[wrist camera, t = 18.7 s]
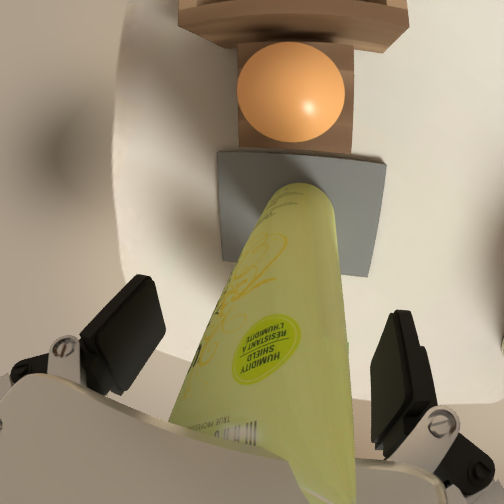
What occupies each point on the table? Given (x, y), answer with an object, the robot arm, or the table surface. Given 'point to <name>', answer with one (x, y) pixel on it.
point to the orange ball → (290, 92)
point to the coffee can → (502, 347)
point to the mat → (311, 172)
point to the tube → (281, 350)
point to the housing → (301, 31)
